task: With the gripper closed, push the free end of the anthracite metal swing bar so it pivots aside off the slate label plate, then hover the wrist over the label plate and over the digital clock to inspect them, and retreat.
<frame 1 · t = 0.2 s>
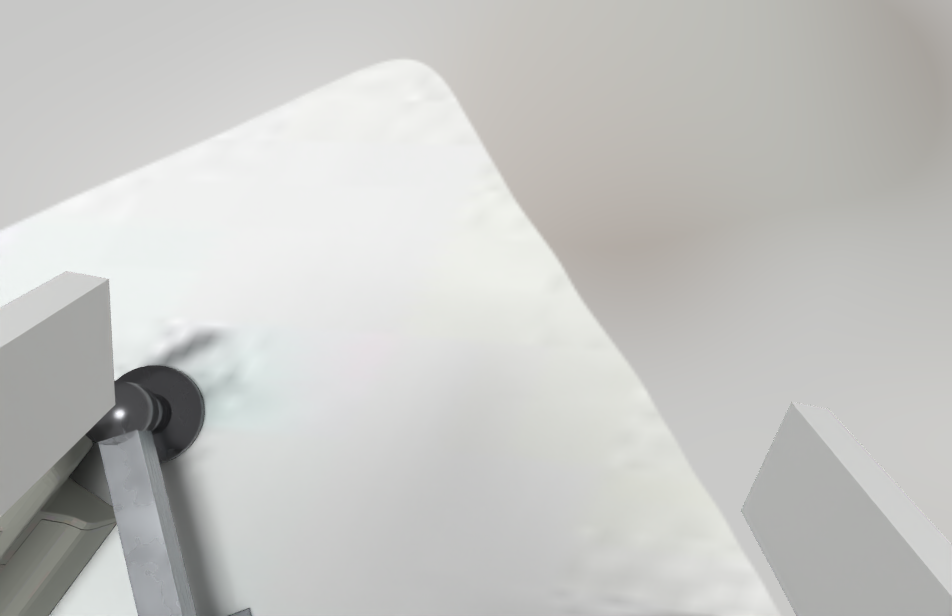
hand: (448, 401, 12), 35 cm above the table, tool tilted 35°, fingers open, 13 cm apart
swing arm: (153, 552, 39), point 5 cm above the table, hinge at 0.0°
pivot post: (154, 414, 45), on the table
digital clock: (35, 536, 43), on the table
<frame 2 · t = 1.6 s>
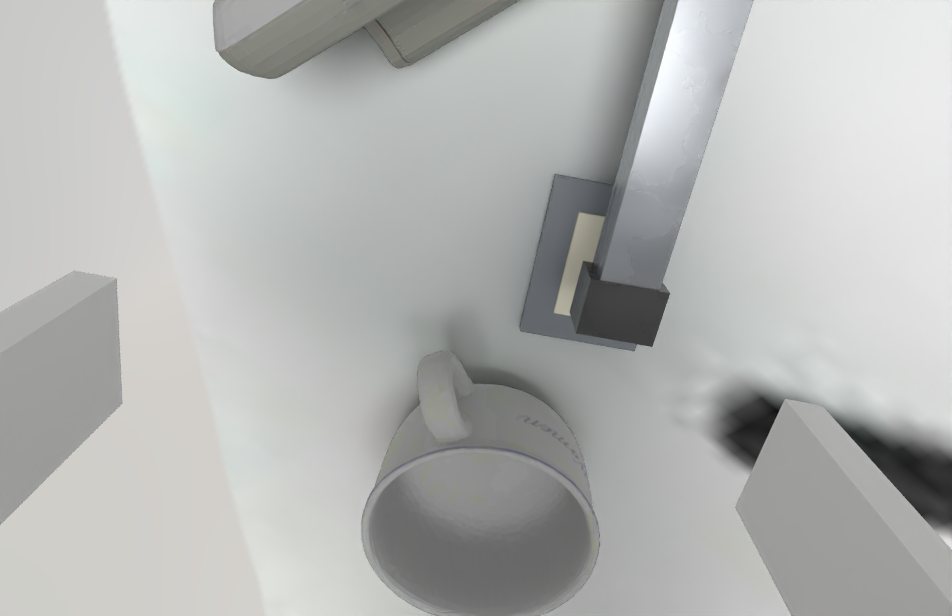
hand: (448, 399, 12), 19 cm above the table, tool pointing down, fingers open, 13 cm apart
swing arm: (691, 52, 22), point 5 cm above the table, hinge at 0.0°
teacup: (479, 416, 35), on the table
label plate: (595, 264, 31), on the table
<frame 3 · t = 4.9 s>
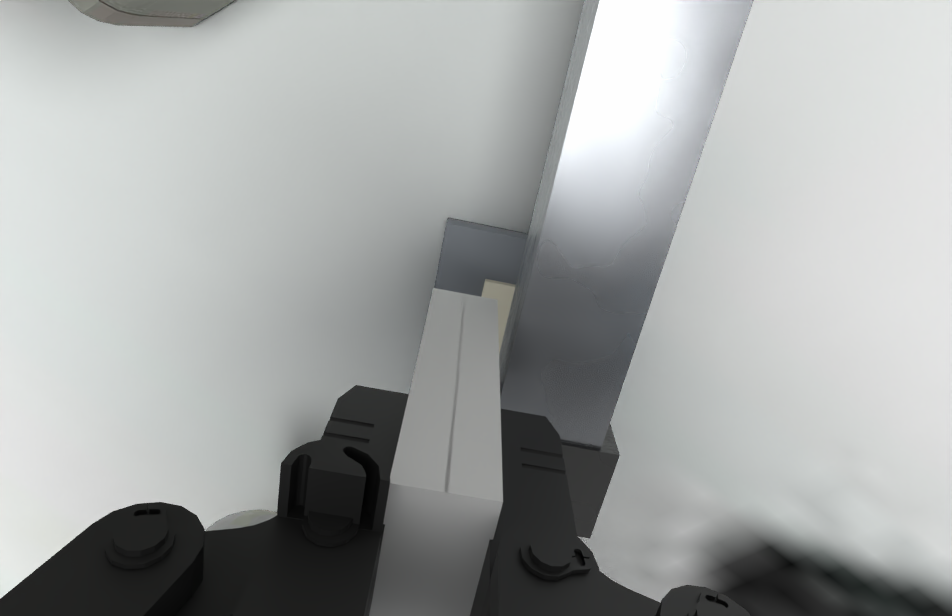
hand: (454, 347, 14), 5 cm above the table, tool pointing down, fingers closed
swing arm: (659, 6, 11), point 5 cm above the table, hinge at 0.3°, touching gripper
teacup: (356, 559, 24), on the table
label plate: (518, 356, 20), on the table
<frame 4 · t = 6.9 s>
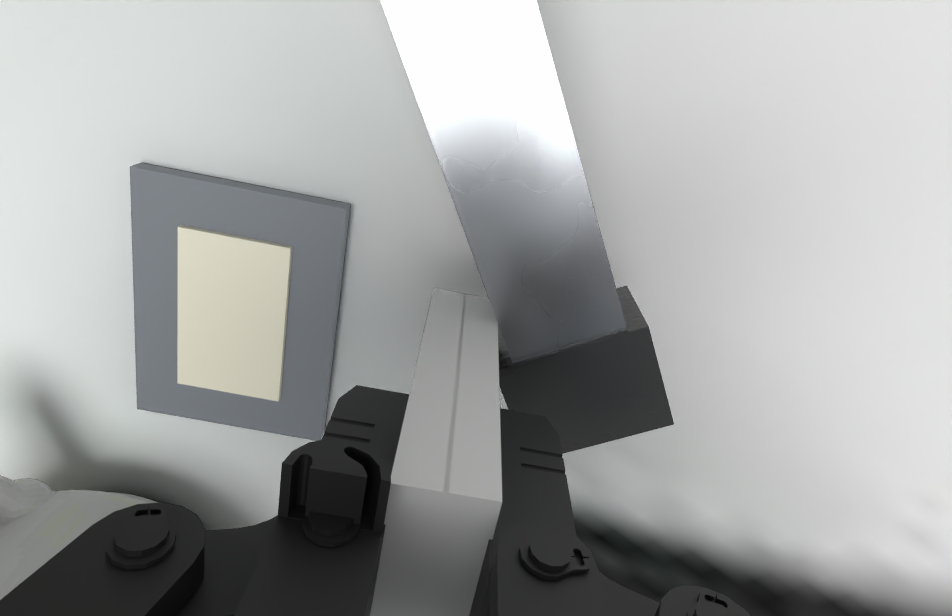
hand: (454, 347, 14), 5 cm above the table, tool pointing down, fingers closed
teacup: (126, 524, 23), on the table
label plate: (241, 308, 19), on the table
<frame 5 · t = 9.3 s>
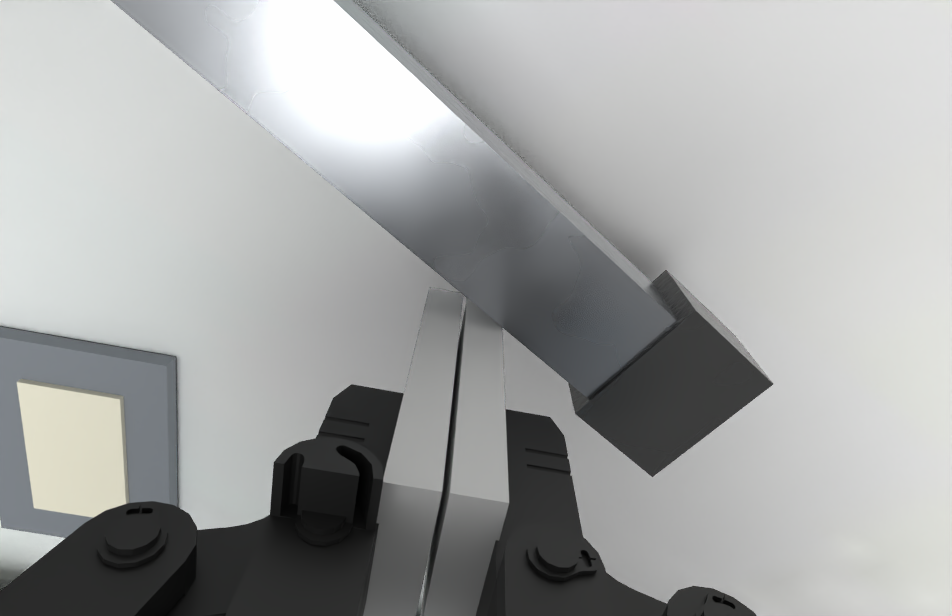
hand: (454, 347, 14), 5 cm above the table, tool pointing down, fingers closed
swing arm: (296, 49, 11), point 5 cm above the table, hinge at 58.7°, touching gripper
label plate: (89, 441, 21), on the table
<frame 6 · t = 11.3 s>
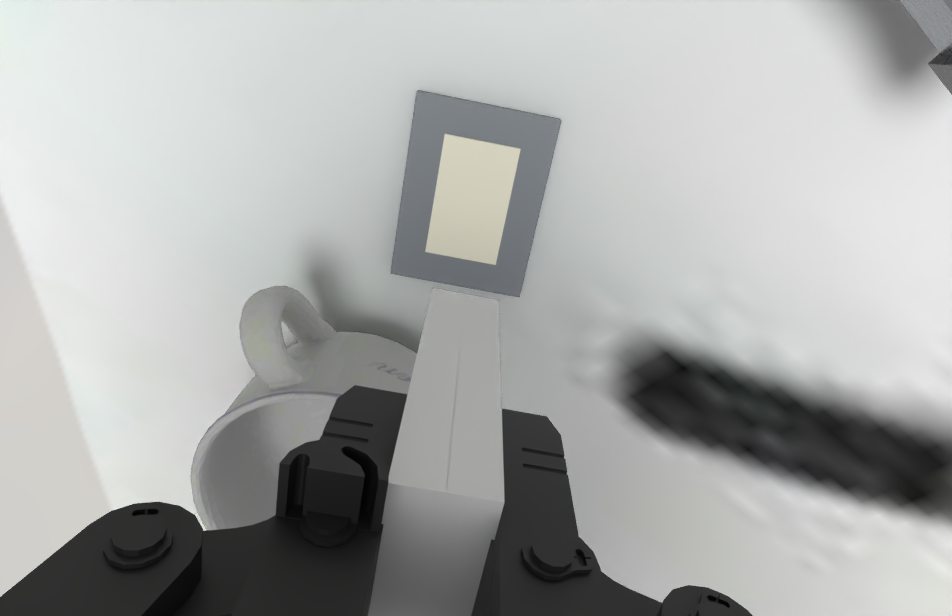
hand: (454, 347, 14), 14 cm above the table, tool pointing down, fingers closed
teacup: (357, 373, 31), on the table
label plate: (471, 197, 27), on the table
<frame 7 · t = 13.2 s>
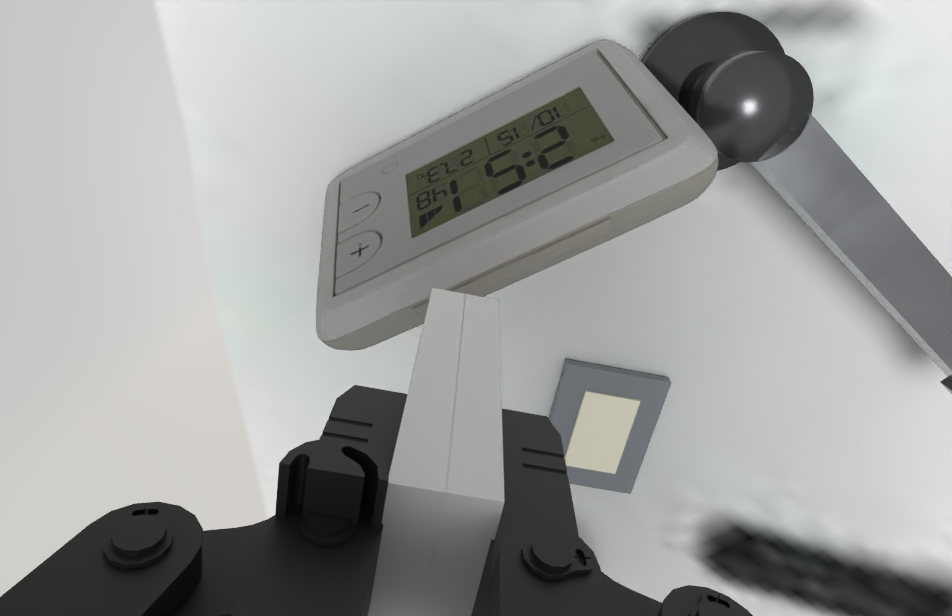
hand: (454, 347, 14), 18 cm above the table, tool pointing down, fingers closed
swing arm: (880, 253, 27), point 5 cm above the table, hinge at 58.7°
label plate: (598, 426, 37), on the table
pivot post: (705, 94, 29), on the table
digital clock: (487, 161, 31), on the table
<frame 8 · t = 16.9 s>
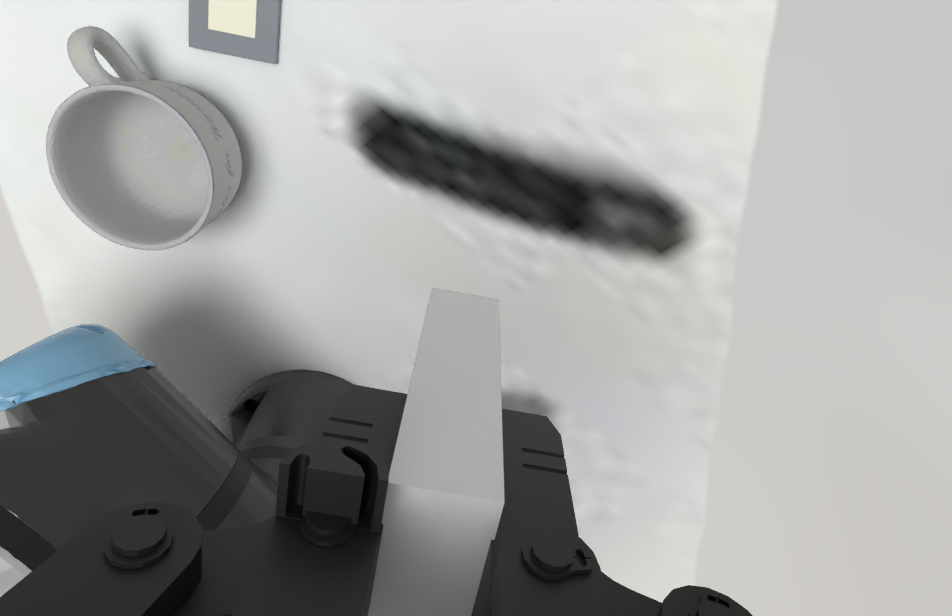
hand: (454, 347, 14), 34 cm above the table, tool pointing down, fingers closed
teacup: (180, 129, 46), on the table
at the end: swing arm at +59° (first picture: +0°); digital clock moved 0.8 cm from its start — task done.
